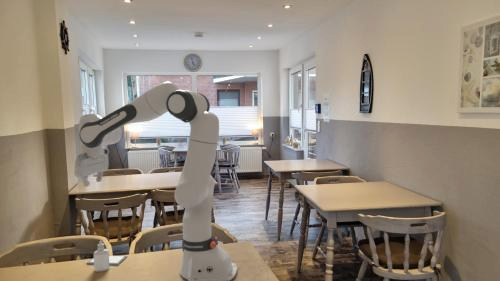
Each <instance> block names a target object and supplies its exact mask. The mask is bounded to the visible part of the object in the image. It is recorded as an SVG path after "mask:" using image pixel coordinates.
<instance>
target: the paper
mask: <svg viewBox="0 0 500 281" xmlns="http://www.w3.org/2000/svg"><path fill="white" fill-rule="evenodd" d="M125 256H126V255H109V263H118V262H119V261H120V260H122V259H123V258H124V257H125ZM92 259H93V258H92ZM90 260H91V259H90ZM90 260H89V261H90ZM90 262H93V263H94V259H93V260H91V261H90Z"/></svg>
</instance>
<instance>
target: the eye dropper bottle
mask: <svg viewBox="0 0 500 281" xmlns="http://www.w3.org/2000/svg"><path fill="white" fill-rule="evenodd" d="M109 256H110V252H109V249H107V248H105V243H103V242H102V240H100V241H99V243H98V244H97V250H95V251H94V252H93V258H94V265H93V268H94V272H96V273H99V272H105V271H108V270H110V266H111V265H109Z"/></svg>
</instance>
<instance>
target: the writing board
mask: <svg viewBox="0 0 500 281" xmlns="http://www.w3.org/2000/svg"><path fill="white" fill-rule="evenodd" d="M124 256H125V257H124V258H123V259H122V260H120V261H119V262H118V263H109V266H120V264H121V263H123V262H124V261H125V260H126V258H128V256H127V255H124ZM93 259H94V257H93V258H91V259H90V260H88V261H87V262H86V265H92V264H94V263H93V262H90V261H91V260H93Z"/></svg>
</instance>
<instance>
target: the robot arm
mask: <svg viewBox="0 0 500 281" xmlns="http://www.w3.org/2000/svg"><path fill="white" fill-rule="evenodd" d="M210 106H211V105H210V101H209V99H208V98H207V96H205V95H204V94H203V93H200V92H196V91H193V90H188V89H187V90H186V89H180V88H179V87H178V86H177V85H176V84H175V83H173V81H172V82H171V81H164V82H162V83H159V84H157V85H155V86H153V87H151V88H149V89H148V90H146V91H145V92H143V93H142V94H141V95H138V97H136V98H135V99H133V100H131V101H129V102H128V103H126V104H125V105H123V106H121V107H119V108H118V109H116V110H114V111H112V112H111V113H108V114H107V115H106V116H103V117H102V116H101V115H100V114H99V113H89V114H84V115H82V116H81V117H80V119H79V123H78V136H79V139H80V142H79V154H78V155H77V157H75V161H74V173H73V174H74V176H75V177H76V178H81V181H82V183H83V186H84V187H89V186H90V181H89V180H88V179H89V176H91V175H94V174H97V175H96V177H95V179H96V182H97V183H100V182H103V181H102V180H103V175H104V171H106V170H108V168H109V155H108V154H109V153H110V152H109V149H108V148H105V147H104V146H109V145H115V144H117V143H119V142H120V141H122V138H123V129H122V127H123V126H126V125H129V124H135V123H143V122H150V121H153V120H155V119H158V118H159V117H162V116H164V115H165V114H166V113H167V112H168V113H169V114H170V115H171V116H173V118H176V119H178V120H180V121H182V122H183V123H185V124H186V123H188V124H189V126H190V131H189V138H188V143H187V144H188V145H187V151H186V157H185V161H184V163H183V167H182V170H181V173H180V177H179V180H178V183H177V186H176V188H175V190H174V195H173V196H174V200H175V202H176V203H177V204H178V206H180V207H182V208H184V213H183V216H182V235H183V236H182V240H181V249H182V252H183V253H182V261H181V269H180V272H179V275H180V276H181V277H182V278H183V279H186V280H187V281H232V279H234V278H235V277H236V275H237V272H238V266H237V264H236V263H235V262H232V259H231V256H230V254H229V252H228V251H226V250H224V249H223V248H221V246H219V245H218V244H217V240H218V238H217V236H213V234H212V211H213V204H214V203H213V202H214V201H213V200H214V191H215V190H214V189H215V184H216V182H215V179H214V177H213V176H212V175H211V174H212V171H213V167H214V165H215V162H216V156H217V150H218V144H219V135H220V121H219V120H220V119H219V117H218V116H217V115H216V114H214V113H213V112H210V109H211V108H210Z"/></svg>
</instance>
